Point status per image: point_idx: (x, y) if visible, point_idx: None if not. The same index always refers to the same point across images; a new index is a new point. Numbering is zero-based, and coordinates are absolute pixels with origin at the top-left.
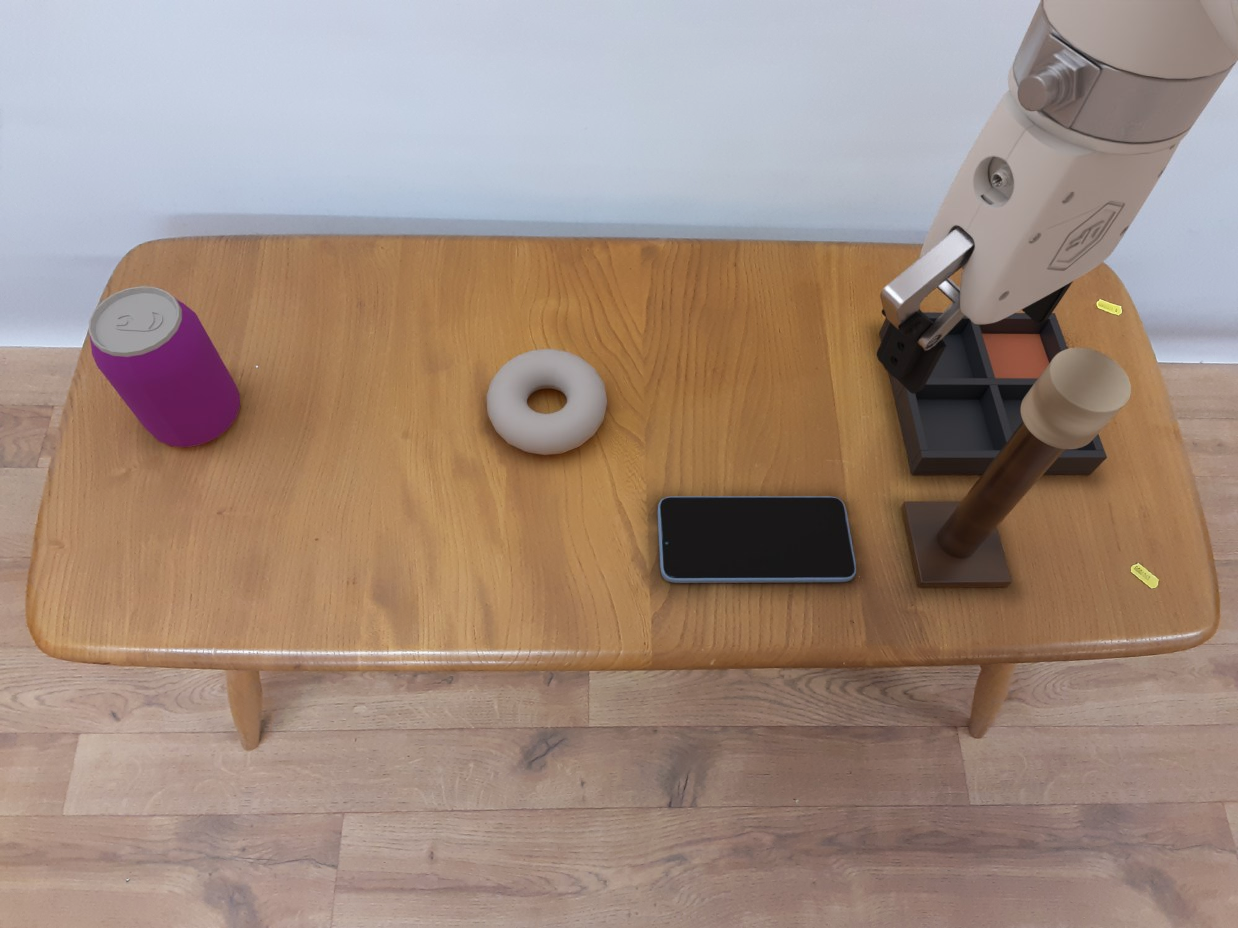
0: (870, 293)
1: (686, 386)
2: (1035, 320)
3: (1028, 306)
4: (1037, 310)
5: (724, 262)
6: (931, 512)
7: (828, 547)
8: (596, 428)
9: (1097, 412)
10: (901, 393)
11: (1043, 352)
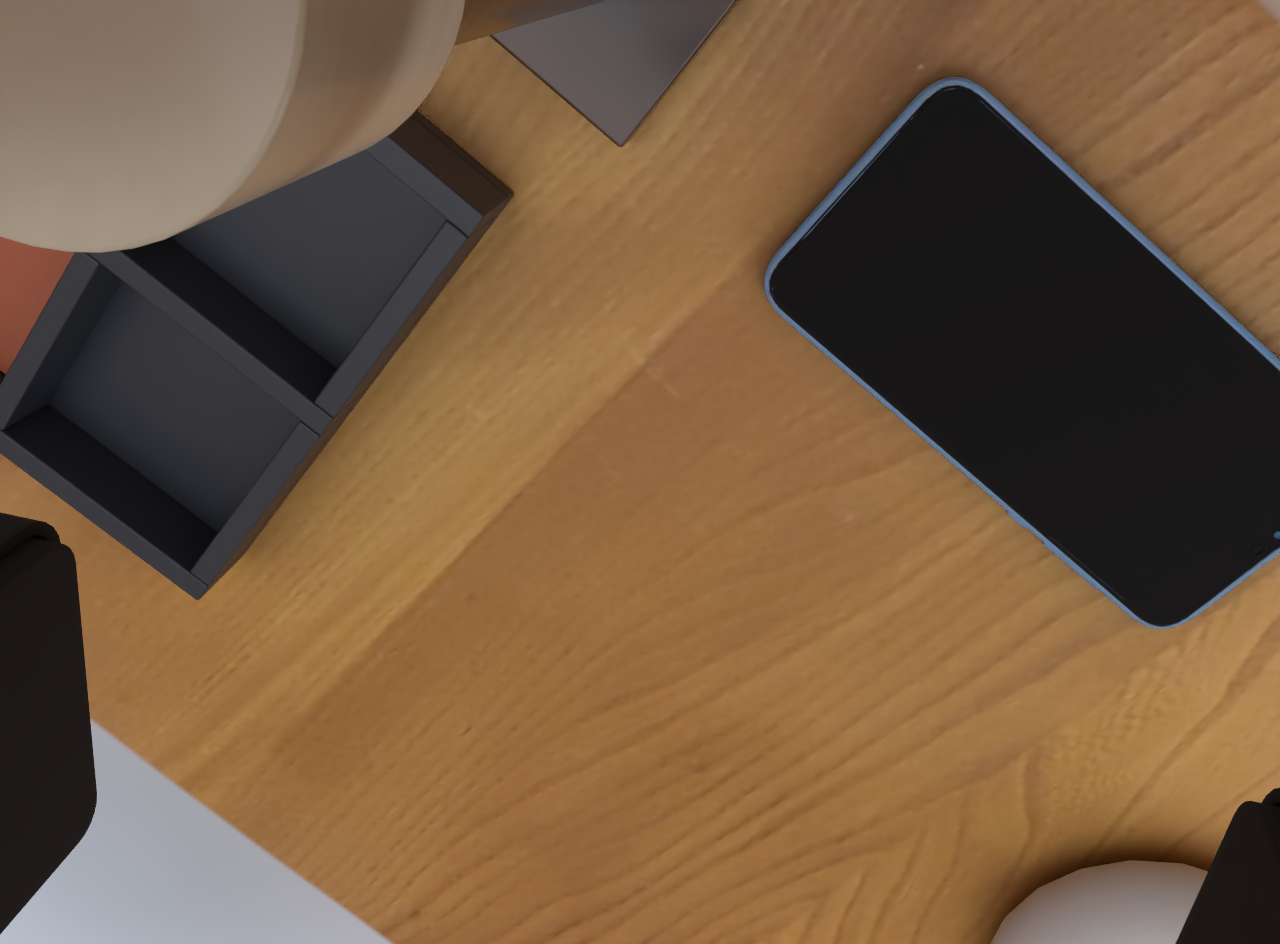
0: (173, 645)
1: (798, 785)
2: (65, 555)
3: (43, 672)
4: (17, 624)
5: (432, 934)
6: (582, 61)
7: (933, 202)
8: (1126, 879)
9: None
10: (351, 400)
11: None
